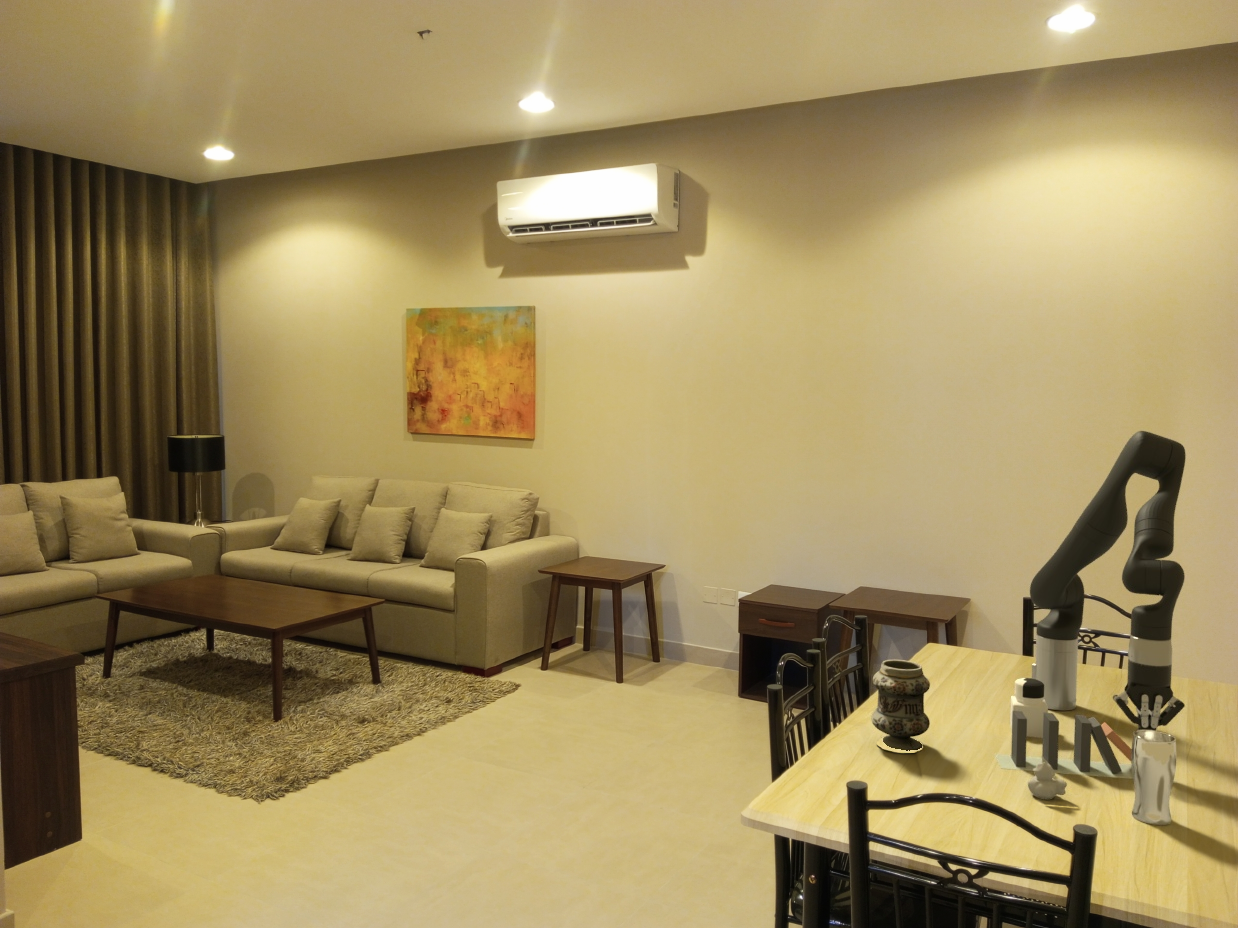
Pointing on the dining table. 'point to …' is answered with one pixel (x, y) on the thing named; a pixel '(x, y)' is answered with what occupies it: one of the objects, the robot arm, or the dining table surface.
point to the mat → (1067, 767)
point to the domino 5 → (1117, 740)
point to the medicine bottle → (1030, 704)
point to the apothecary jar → (901, 703)
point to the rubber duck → (1045, 782)
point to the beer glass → (1153, 775)
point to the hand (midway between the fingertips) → (1146, 744)
